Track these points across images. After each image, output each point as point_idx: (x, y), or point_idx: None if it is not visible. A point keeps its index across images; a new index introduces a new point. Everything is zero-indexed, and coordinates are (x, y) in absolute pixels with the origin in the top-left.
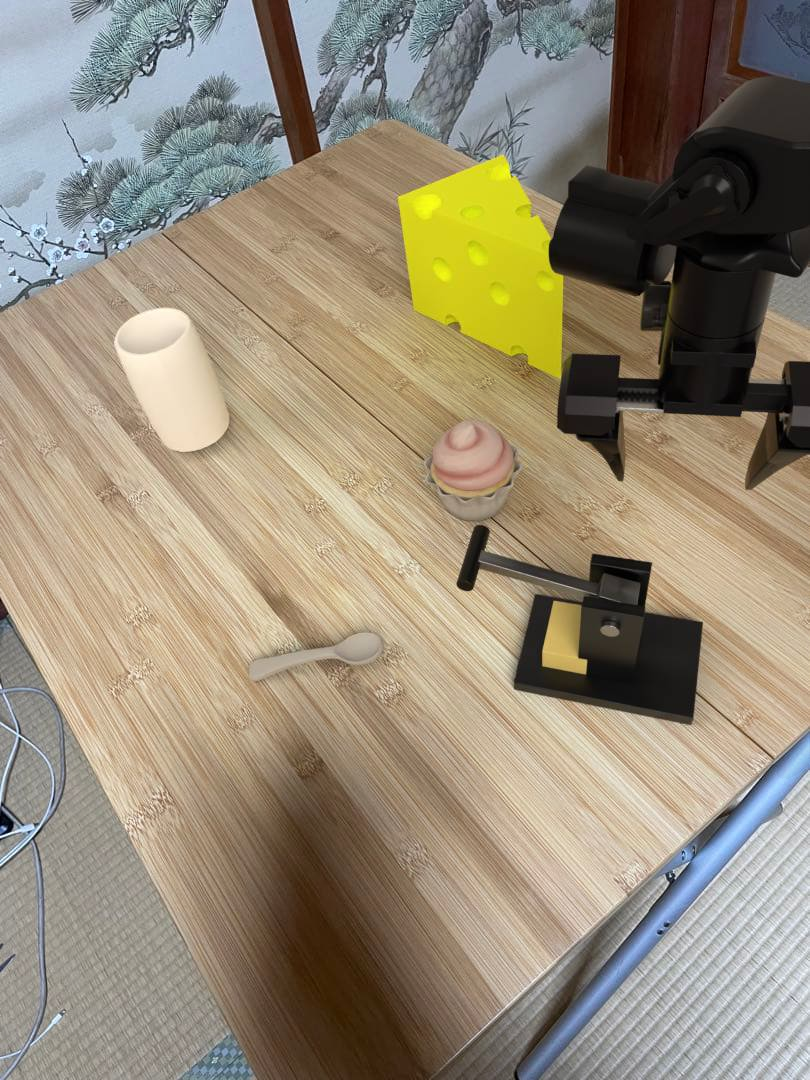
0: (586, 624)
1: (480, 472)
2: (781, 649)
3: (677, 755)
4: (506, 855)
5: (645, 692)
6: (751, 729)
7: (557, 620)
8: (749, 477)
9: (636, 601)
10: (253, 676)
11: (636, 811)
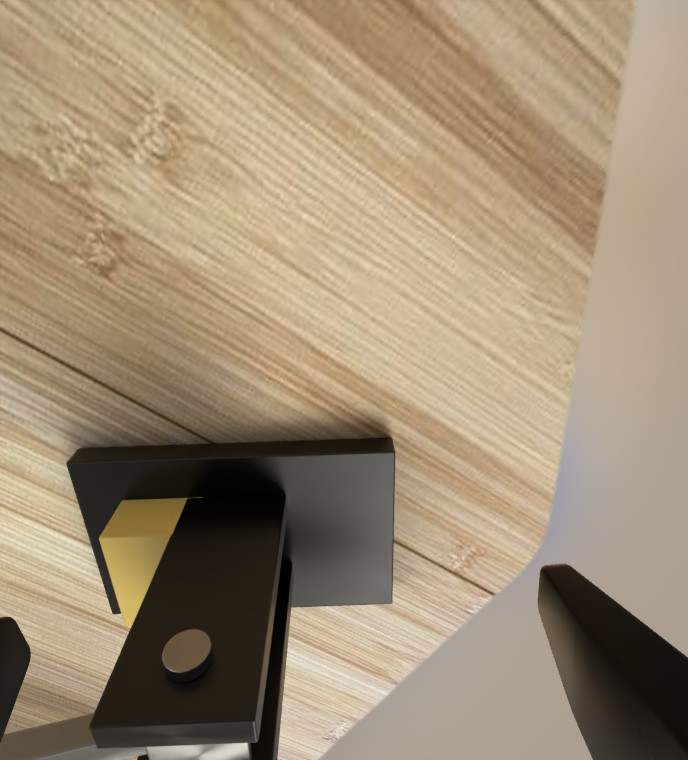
0: None
1: None
2: (530, 442)
3: (374, 621)
4: None
5: (316, 586)
6: (473, 571)
7: (124, 572)
8: (578, 706)
9: (247, 753)
10: None
11: (334, 683)
